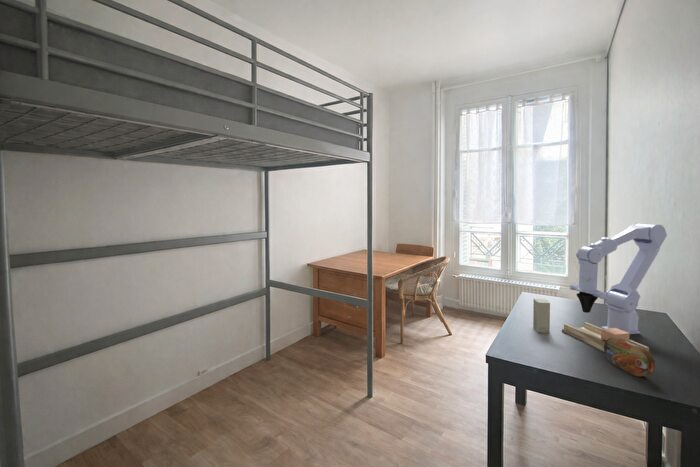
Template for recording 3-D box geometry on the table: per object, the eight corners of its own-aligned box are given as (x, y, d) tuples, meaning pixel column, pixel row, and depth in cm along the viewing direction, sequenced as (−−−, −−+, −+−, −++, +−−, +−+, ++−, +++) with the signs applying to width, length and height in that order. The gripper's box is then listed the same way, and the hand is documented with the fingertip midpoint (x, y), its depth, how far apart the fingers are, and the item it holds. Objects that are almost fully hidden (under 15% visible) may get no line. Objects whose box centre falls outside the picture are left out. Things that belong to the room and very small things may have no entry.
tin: (602, 358, 111) (603, 333, 110) (611, 357, 111) (612, 333, 110) (646, 382, 96) (648, 353, 95) (656, 381, 96) (658, 353, 95)
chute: (587, 329, 135) (588, 321, 135) (650, 355, 112) (651, 346, 111) (561, 331, 133) (562, 323, 133) (619, 358, 110) (620, 349, 109)
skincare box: (549, 333, 132) (551, 303, 130) (537, 332, 132) (538, 302, 131) (543, 327, 138) (545, 298, 137) (532, 326, 139) (533, 298, 138)
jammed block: (614, 341, 121) (615, 327, 120) (628, 347, 116) (629, 333, 115) (600, 342, 120) (601, 329, 119) (613, 348, 115) (614, 334, 114)
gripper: (564, 274, 136) (562, 307, 137) (596, 282, 122) (594, 319, 123) (578, 273, 137) (577, 305, 139) (612, 281, 123) (610, 317, 124)
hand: (586, 312), depth 131 cm, fingers closed
